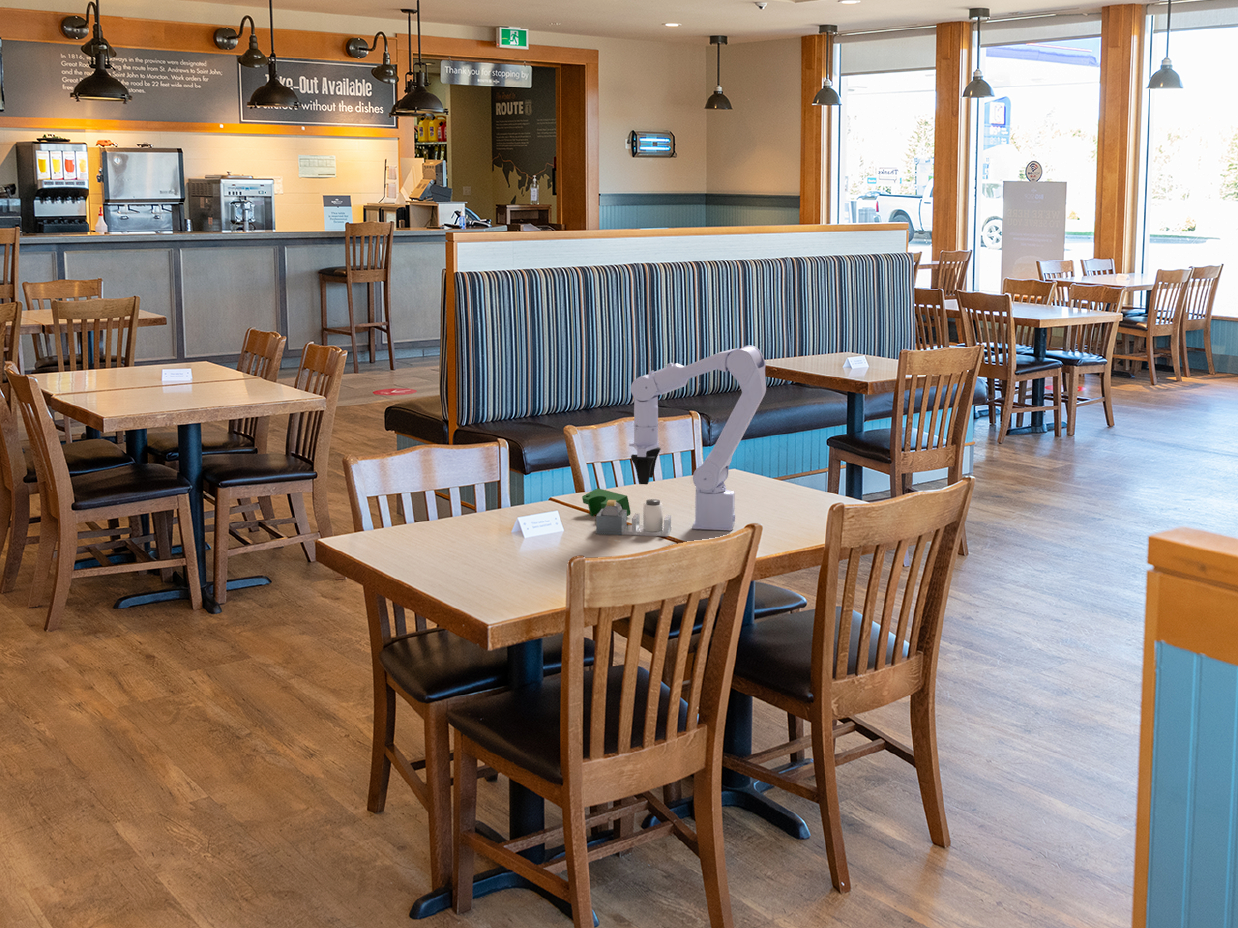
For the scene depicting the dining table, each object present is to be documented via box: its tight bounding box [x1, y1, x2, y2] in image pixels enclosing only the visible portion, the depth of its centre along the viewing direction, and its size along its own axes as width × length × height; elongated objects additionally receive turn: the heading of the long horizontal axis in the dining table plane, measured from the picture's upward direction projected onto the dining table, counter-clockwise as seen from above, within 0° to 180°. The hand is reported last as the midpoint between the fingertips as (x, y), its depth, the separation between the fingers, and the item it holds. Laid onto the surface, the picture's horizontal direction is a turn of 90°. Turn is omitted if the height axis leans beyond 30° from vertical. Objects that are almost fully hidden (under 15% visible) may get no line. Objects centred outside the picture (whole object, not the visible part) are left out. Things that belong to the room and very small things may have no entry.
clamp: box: [581, 488, 632, 517], centre depth 302 cm, size 12×6×9 cm, turn 35°
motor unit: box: [595, 500, 672, 537], centre depth 287 cm, size 17×7×7 cm, turn 80°
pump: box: [642, 498, 664, 531], centre depth 287 cm, size 4×4×7 cm
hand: (645, 480), depth 297 cm, fingers open, 7 cm apart
